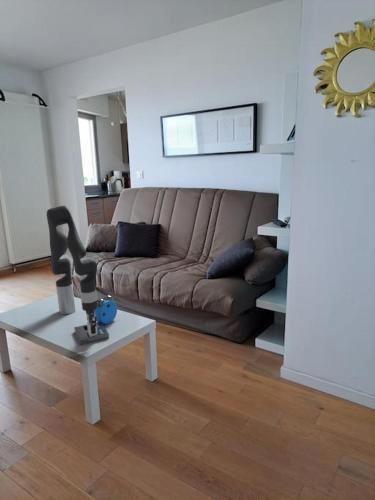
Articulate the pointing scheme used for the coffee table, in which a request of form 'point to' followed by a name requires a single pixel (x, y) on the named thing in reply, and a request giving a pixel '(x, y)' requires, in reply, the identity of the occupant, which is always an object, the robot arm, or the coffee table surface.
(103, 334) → the panel
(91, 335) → the plug
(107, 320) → the alarm clock
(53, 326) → the coffee table surface
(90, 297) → the robot arm
